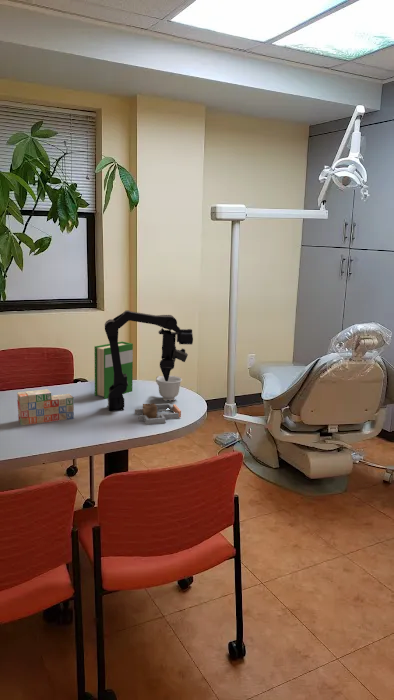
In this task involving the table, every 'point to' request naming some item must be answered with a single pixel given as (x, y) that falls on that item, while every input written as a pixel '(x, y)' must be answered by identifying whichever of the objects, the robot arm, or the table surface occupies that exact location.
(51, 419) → the stack of blocks
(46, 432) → the table surface
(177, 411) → the trap lane
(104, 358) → the hardback book
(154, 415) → the walnut block
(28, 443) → the table surface
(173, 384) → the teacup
